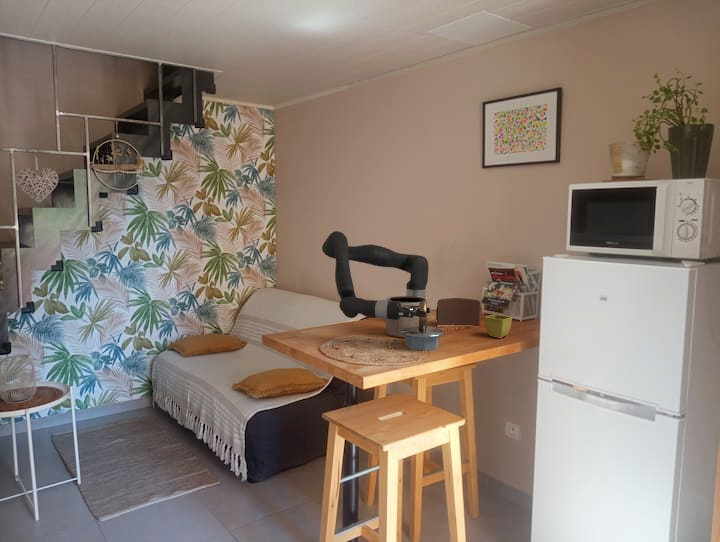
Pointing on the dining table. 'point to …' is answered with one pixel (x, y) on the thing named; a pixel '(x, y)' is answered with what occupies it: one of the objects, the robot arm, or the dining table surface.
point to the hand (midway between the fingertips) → (427, 312)
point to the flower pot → (498, 325)
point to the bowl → (422, 343)
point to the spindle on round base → (422, 327)
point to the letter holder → (458, 312)
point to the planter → (403, 322)
